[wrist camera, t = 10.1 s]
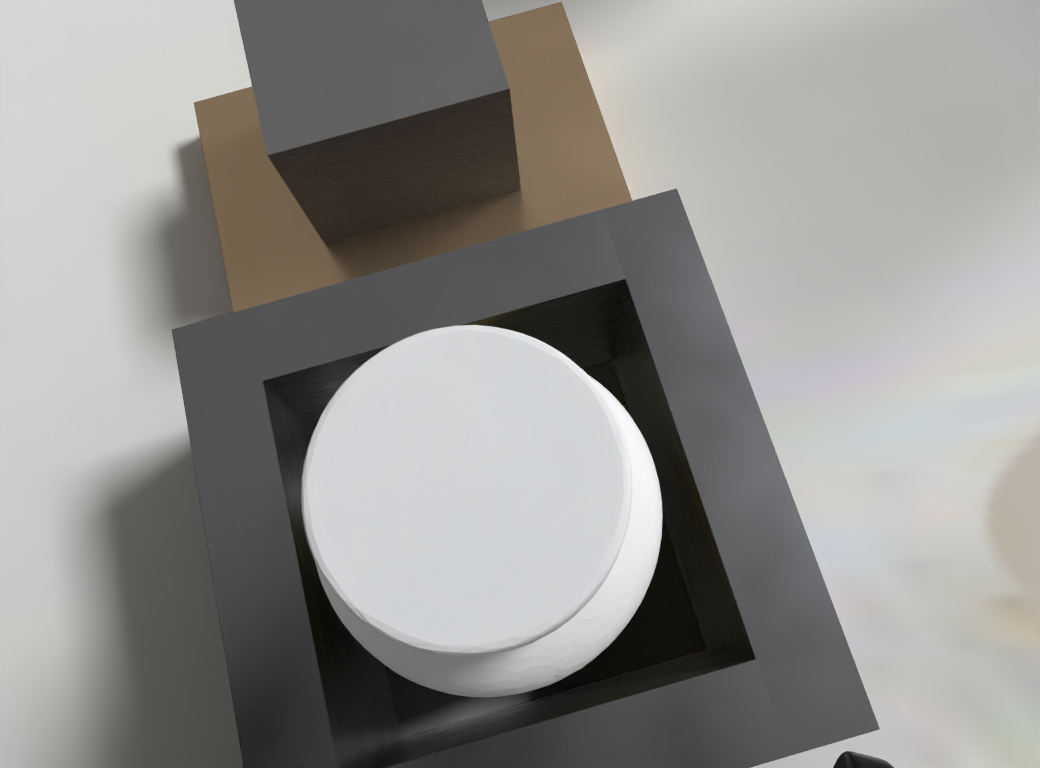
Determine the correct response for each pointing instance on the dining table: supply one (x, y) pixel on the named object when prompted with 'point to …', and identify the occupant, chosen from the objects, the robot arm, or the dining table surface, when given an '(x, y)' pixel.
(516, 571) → the supplement bottle
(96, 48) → the dining table surface
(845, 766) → the robot arm
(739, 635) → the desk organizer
